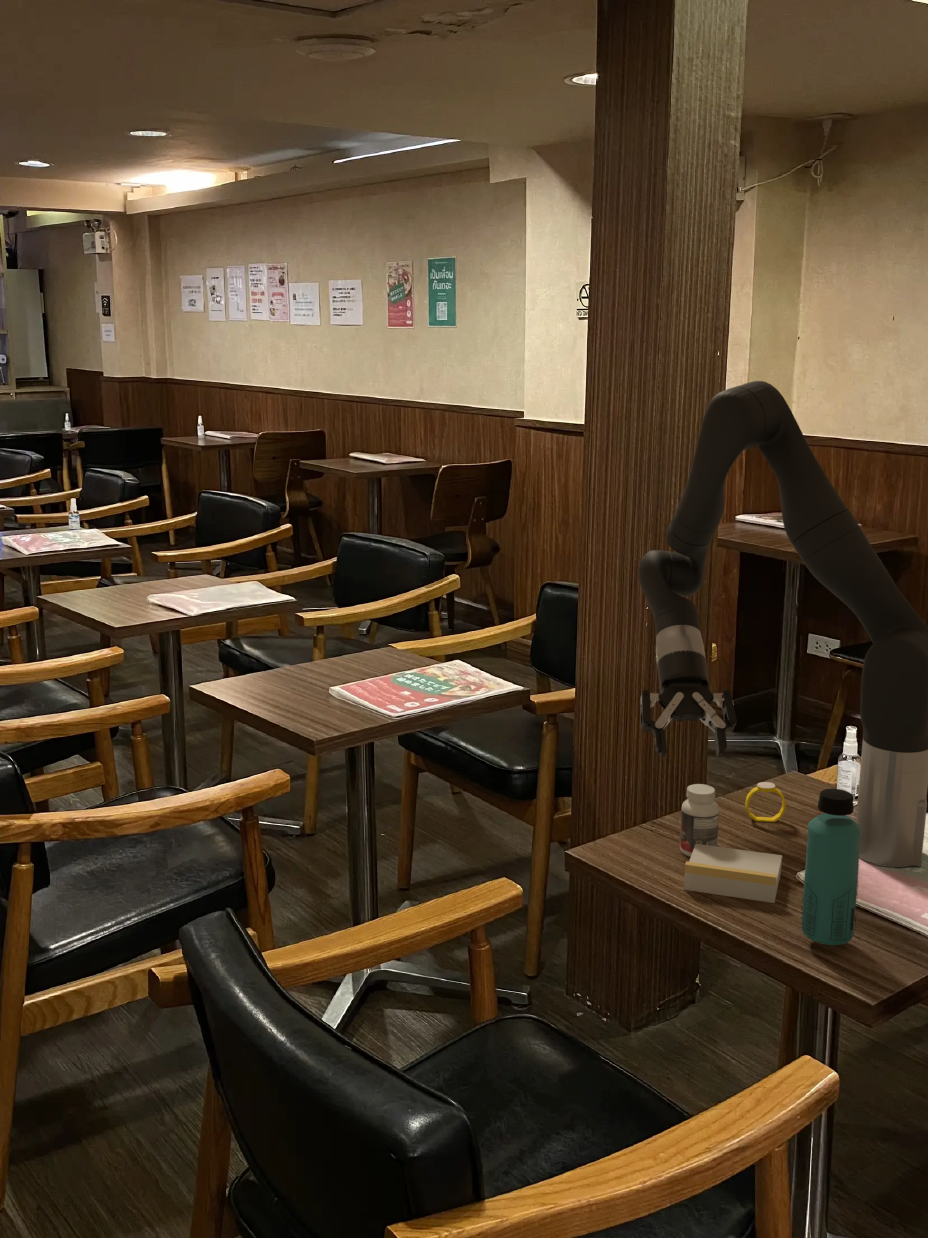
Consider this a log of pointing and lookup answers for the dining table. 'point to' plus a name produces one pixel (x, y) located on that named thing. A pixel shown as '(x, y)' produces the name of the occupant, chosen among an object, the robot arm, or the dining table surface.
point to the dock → (733, 873)
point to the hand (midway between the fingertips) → (692, 754)
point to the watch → (765, 788)
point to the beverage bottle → (831, 871)
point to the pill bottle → (699, 818)
